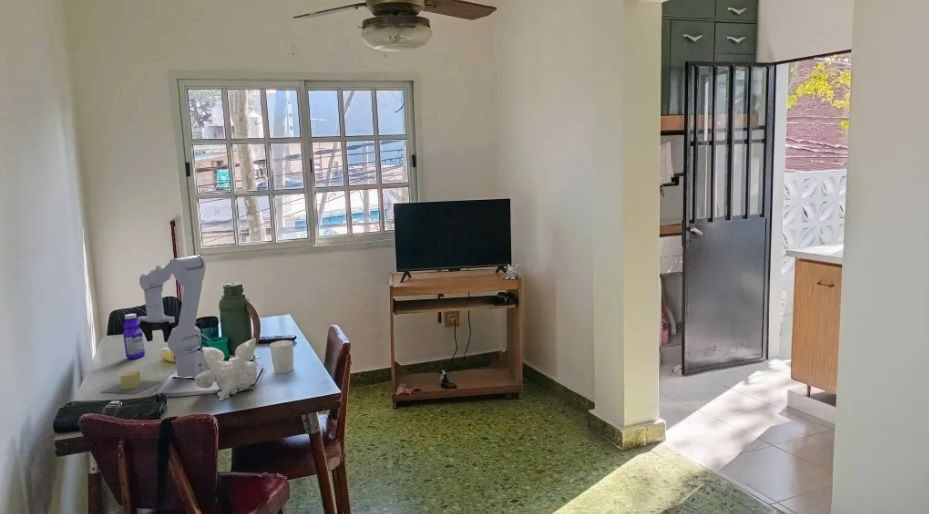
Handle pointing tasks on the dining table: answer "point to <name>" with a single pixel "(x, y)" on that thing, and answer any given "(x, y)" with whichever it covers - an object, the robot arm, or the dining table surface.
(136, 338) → the bottle
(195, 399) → the dining table surface
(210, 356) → the white lumpy sculpture
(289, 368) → the white cup
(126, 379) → the block
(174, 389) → the dining table surface
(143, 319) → the robot arm
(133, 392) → the placemat
